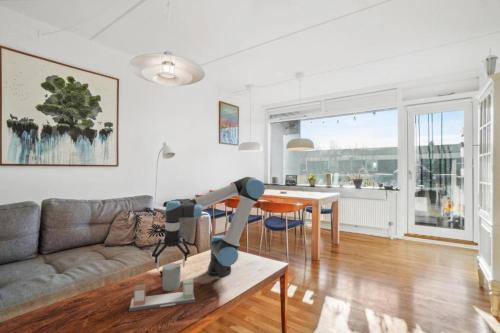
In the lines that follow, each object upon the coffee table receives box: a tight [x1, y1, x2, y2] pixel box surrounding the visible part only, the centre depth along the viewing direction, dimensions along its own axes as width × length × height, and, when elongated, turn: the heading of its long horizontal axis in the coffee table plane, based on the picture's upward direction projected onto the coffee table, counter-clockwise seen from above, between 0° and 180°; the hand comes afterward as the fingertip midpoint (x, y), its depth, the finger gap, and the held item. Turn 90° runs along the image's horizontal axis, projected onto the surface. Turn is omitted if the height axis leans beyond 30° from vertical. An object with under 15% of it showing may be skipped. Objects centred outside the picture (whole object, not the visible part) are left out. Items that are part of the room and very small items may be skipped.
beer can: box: [161, 262, 181, 292], centre depth 144 cm, size 10×10×12 cm
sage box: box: [182, 278, 195, 299], centre depth 134 cm, size 5×4×8 cm
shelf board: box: [128, 291, 196, 312], centre depth 130 cm, size 30×12×2 cm, turn 108°
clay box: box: [133, 283, 147, 306], centre depth 127 cm, size 5×4×8 cm
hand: (170, 267), depth 143 cm, fingers open, 13 cm apart
